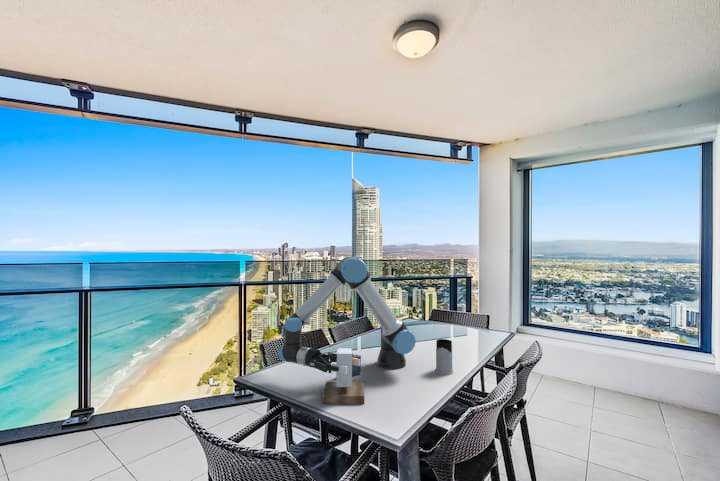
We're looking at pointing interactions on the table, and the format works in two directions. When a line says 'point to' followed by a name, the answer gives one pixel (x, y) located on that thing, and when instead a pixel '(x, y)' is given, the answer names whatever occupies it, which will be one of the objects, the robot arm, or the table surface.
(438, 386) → the table surface
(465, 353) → the table surface
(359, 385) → the walnut plinth
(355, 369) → the flask
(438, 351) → the glass holder
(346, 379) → the small box
